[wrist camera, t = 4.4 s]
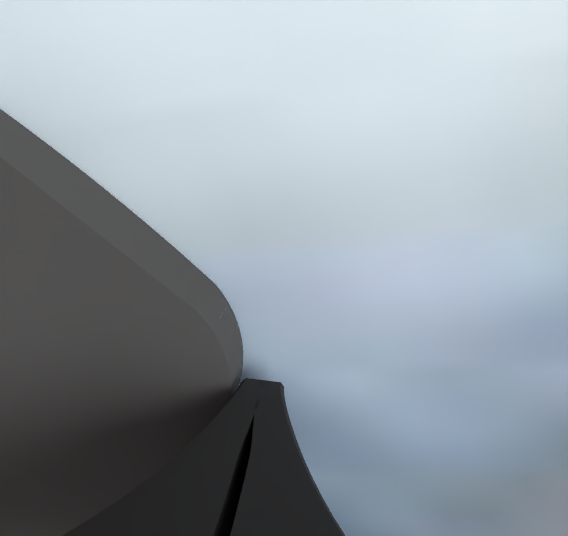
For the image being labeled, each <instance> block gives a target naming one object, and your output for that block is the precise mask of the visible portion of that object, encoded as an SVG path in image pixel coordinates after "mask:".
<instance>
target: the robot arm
mask: <svg viewBox="0 0 568 536" xmlns="http://www.w3.org/2000/svg"><path fill="white" fill-rule="evenodd" d="M62 536H345V535H344V533H343V531H342V530H341V528H340V527H339V525H338V523H337V522H336V520H335V519H334V517H333V516H332V514H331V512H330V510H329V508H328V507H327V505H326V503H325V501H324V499H323V498H322V496H321V494H320V492H319V490H318V488H317V486H316V484H315V482H314V480H313V478H312V476H311V474H310V472H309V470H308V467H307V465H306V463H305V460H304V458H303V456H302V453H301V451H300V448H299V446H298V443H297V440H296V438H295V434H294V431H293V428H292V425H291V422H290V419H289V415H288V412H287V407H286V403H285V397H284V386H283V385H282V384H281V382H273V381H265V380H256V379H248V378H246V379H245V380H243V381H242V383H241V384H240V386H239V387H238V388H237V390H236V391H235V392H234V394H233V395H232V396H231V398H230V399H229V400H228V401H227V403H226V404H225V405H224V406H223V407H222V409H221V410H220V411H219V412H218V413H217V414H216V415H215V417H214V418H213V419H212V420H211V421H210V422H209V423H208V424H207V425H206V426H205V427H204V428H203V429H202V430H201V431H200V432H199V433H198V434H197V435H196V436H195V437H194V438H193V439H192V440H191V441H190V442H189V443H188V444H187V445H186V446H185V447H184V448H183V449H182V450H181V451H180V452H179V453H178V454H176V455H175V456H174V457H173V458H172V459H171V460H169V461H168V462H167V463H166V464H165V465H164V466H162V467H161V468H160V469H159V470H157V471H156V472H155V473H154V474H152V475H151V476H150V477H148V478H147V479H146V480H145V481H143V482H142V483H141V484H139V485H138V486H137V487H135V488H134V489H133V490H131V491H130V492H129V493H127V494H126V495H124V496H123V497H122V498H120V499H119V500H117V501H116V502H114V503H113V504H111V505H110V506H108V507H106V508H105V509H103V510H102V511H100V512H99V513H97V514H96V515H94V516H93V517H91V518H90V519H88V520H86V521H85V522H83V523H82V524H80V525H79V526H77V527H75V528H74V529H72V530H70V531H69V532H67V533H65V534H64V535H62Z"/></svg>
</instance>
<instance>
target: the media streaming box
mask: <svg viewBox="0 0 568 536" xmlns="http://www.w3.org/2000/svg"><path fill="white" fill-rule="evenodd" d="M242 365H243V345H242V338H241V333H240V330H239V326H238V323H237V320H236V318H235V315H234V313H233V311H232V309H231V307H230V305H229V303H228V301H227V300H226V298H225V297H224V295H223V294H222V292H221V291H220V290H219V288H218V287H217V286H216V285H215V284H214V283H213V282H212V281H211V280H210V279H209V278H208V277H207V276H206V275H204V274H203V273H202V272H201V271H200V270H199V269H198V268H197V267H196V266H194V265H193V264H192V263H191V262H190V261H189V260H188V259H187V258H185V257H184V256H183V255H182V254H181V253H180V252H179V251H178V250H176V249H175V248H174V247H173V246H172V245H171V244H169V243H168V242H167V241H166V240H165V239H164V238H163V237H161V236H160V235H159V234H158V233H157V232H156V231H154V230H153V229H152V228H151V227H150V226H149V225H147V224H146V223H145V222H144V221H143V220H141V219H140V218H139V217H138V216H137V215H135V214H134V213H133V212H132V211H131V210H130V209H128V208H127V207H126V206H125V205H123V204H122V203H121V202H120V201H119V200H117V199H116V198H115V197H114V196H112V195H111V194H110V193H109V192H108V191H106V190H105V189H104V188H103V187H101V186H100V185H99V184H98V183H96V182H95V181H94V180H93V179H91V178H90V177H89V176H88V175H86V174H85V173H84V172H83V171H81V170H80V169H79V168H78V167H76V166H75V165H74V164H72V163H71V162H70V161H69V160H67V159H66V158H65V157H63V156H62V155H61V154H60V153H58V152H57V151H56V150H54V149H53V148H52V147H50V146H49V145H48V144H47V143H45V142H44V141H43V140H41V139H40V138H39V137H37V136H36V135H35V134H33V133H32V132H31V131H29V130H28V129H27V128H25V127H24V126H23V125H21V124H20V123H19V122H17V121H16V120H15V119H13V118H12V117H10V116H9V115H8V114H6V113H5V112H4V111H2V110H1V109H0V536H62V535H64V534H65V533H67V532H69V531H70V530H72V529H74V528H75V527H77V526H79V525H80V524H82V523H83V522H85V521H86V520H88V519H90V518H91V517H93V516H94V515H96V514H97V513H99V512H100V511H102V510H103V509H105V508H106V507H108V506H110V505H111V504H113V503H114V502H116V501H117V500H119V499H120V498H122V497H123V496H124V495H126V494H127V493H129V492H130V491H131V490H133V489H134V488H135V487H137V486H138V485H139V484H141V483H142V482H143V481H145V480H146V479H147V478H148V477H150V476H151V475H152V474H154V473H155V472H156V471H157V470H159V469H160V468H161V467H162V466H164V465H165V464H166V463H167V462H168V461H169V460H171V459H172V458H173V457H174V456H175V455H176V454H178V453H179V452H180V451H181V450H182V449H183V448H184V447H185V446H186V445H187V444H188V443H189V442H190V441H191V440H192V439H193V438H194V437H195V436H196V435H197V434H198V433H199V432H200V431H201V430H202V429H203V428H204V427H205V426H206V425H207V424H208V423H209V422H210V421H211V420H212V419H213V418H214V417H215V415H216V414H217V413H218V412H219V411H220V410H221V409H222V407H223V406H224V405H225V404H226V403H227V401H228V400H229V399H230V398H231V396H232V395H233V394H234V392H235V391H236V389H237V386H238V383H239V380H240V376H241V372H242Z"/></svg>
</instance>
